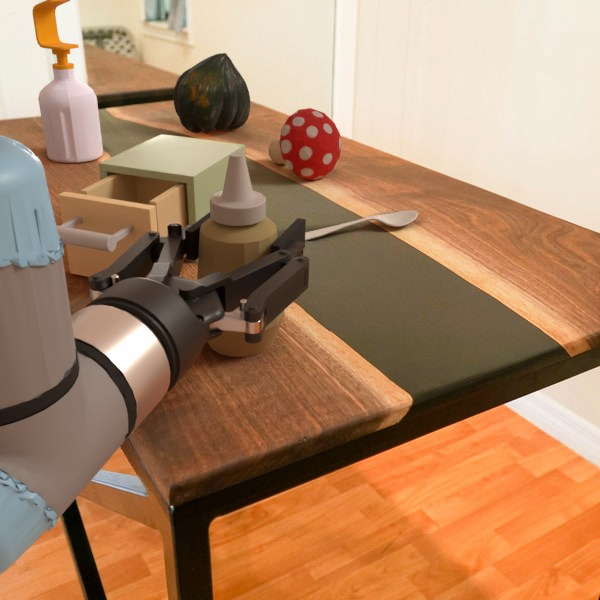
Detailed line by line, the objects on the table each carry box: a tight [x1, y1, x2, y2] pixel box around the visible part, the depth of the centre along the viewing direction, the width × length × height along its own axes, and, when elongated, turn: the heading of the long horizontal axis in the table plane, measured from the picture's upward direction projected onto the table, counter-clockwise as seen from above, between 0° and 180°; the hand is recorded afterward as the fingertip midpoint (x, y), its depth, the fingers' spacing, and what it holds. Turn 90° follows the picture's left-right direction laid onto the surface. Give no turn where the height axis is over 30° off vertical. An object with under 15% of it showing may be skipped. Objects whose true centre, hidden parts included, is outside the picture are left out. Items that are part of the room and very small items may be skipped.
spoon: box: [305, 209, 419, 242], centre depth 85 cm, size 4×21×2 cm, turn 114°
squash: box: [172, 52, 251, 134], centre depth 126 cm, size 14×15×15 cm
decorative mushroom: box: [268, 107, 342, 181], centre depth 105 cm, size 11×11×15 cm
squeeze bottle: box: [196, 152, 285, 358], centre depth 57 cm, size 8×8×18 cm
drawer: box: [56, 173, 189, 278], centre depth 70 cm, size 17×11×9 cm, turn 161°
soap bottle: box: [32, 0, 104, 164], centre depth 106 cm, size 9×9×25 cm
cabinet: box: [98, 133, 247, 263], centre depth 80 cm, size 14×12×11 cm
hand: (261, 226), depth 60 cm, fingers open, 7 cm apart
